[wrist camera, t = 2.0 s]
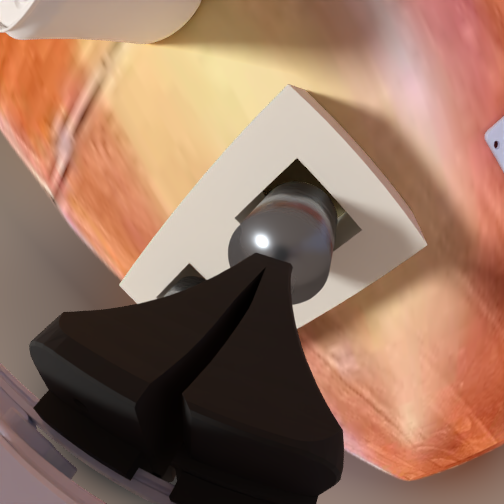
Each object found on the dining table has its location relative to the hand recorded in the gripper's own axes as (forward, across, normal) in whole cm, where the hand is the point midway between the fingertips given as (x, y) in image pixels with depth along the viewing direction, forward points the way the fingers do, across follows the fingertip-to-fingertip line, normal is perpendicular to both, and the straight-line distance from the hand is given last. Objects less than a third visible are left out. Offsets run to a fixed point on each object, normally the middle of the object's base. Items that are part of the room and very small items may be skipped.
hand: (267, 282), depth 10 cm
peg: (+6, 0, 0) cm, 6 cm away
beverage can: (+11, +13, -13) cm, 21 cm away
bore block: (+10, +2, +4) cm, 11 cm away
